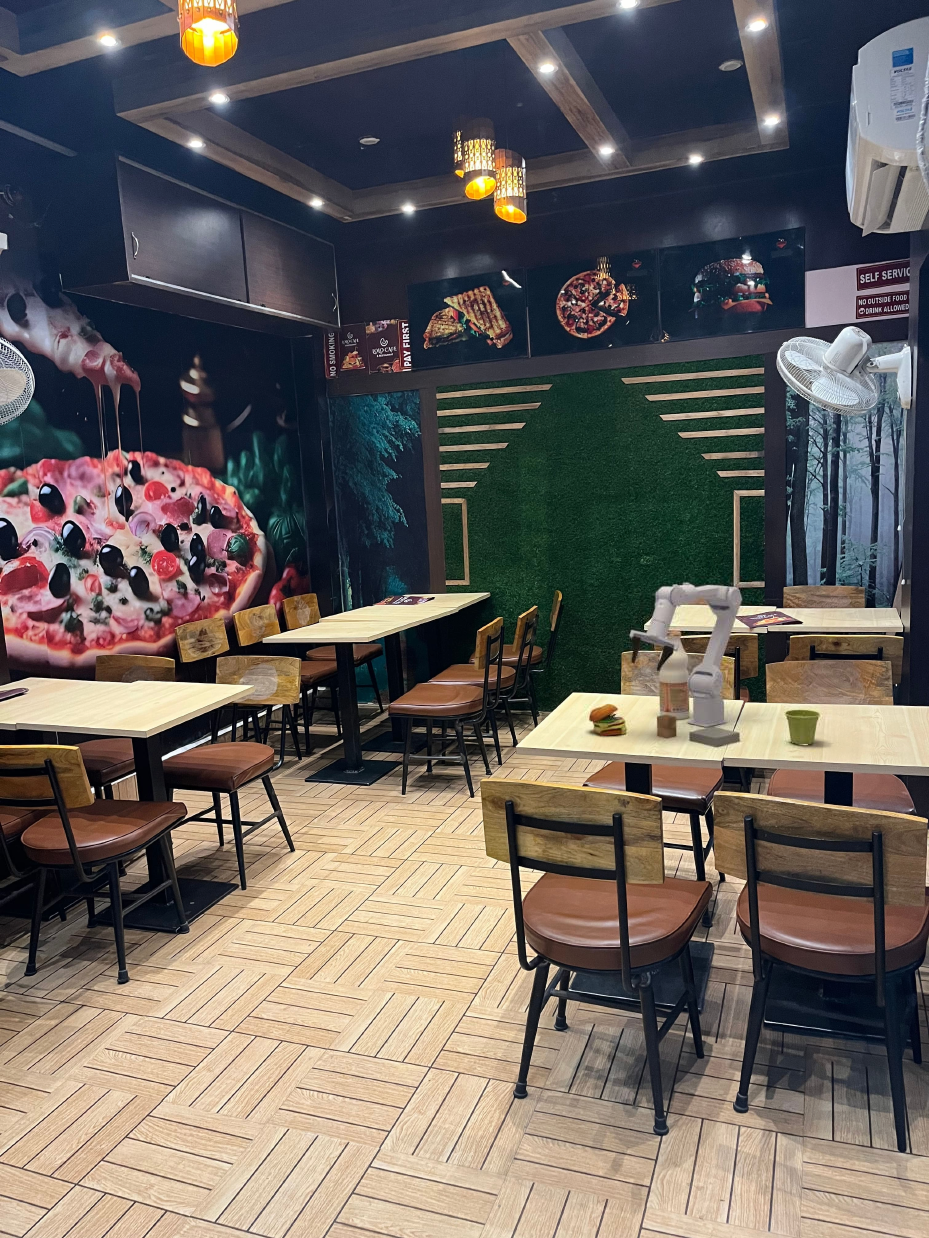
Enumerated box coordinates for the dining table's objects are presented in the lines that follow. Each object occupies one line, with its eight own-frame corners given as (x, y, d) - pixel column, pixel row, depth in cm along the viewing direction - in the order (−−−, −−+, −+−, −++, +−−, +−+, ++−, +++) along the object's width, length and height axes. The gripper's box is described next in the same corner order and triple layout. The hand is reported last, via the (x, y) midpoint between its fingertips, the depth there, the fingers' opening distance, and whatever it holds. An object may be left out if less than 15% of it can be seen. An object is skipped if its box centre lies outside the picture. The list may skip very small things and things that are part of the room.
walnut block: (666, 733, 271) (666, 714, 271) (676, 736, 268) (676, 716, 267) (657, 736, 269) (656, 716, 269) (667, 738, 266) (666, 718, 265)
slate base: (712, 736, 268) (712, 726, 268) (739, 742, 260) (739, 732, 259) (689, 742, 263) (689, 732, 262) (716, 748, 254) (715, 738, 254)
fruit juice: (654, 717, 293) (652, 632, 290) (670, 712, 299) (669, 629, 296) (678, 721, 286) (677, 634, 283) (695, 716, 293) (693, 631, 289)
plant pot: (823, 747, 249) (823, 716, 248) (787, 747, 251) (788, 716, 250) (816, 738, 259) (816, 709, 258) (782, 738, 260) (782, 709, 259)
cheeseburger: (620, 738, 268) (612, 705, 268) (589, 743, 274) (580, 711, 274) (633, 729, 277) (624, 698, 277) (601, 734, 283) (593, 704, 283)
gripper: (635, 613, 265) (620, 655, 263) (683, 627, 260) (668, 670, 257) (637, 620, 272) (623, 661, 269) (684, 633, 266) (670, 676, 264)
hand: (645, 666), depth 264 cm, fingers open, 7 cm apart
